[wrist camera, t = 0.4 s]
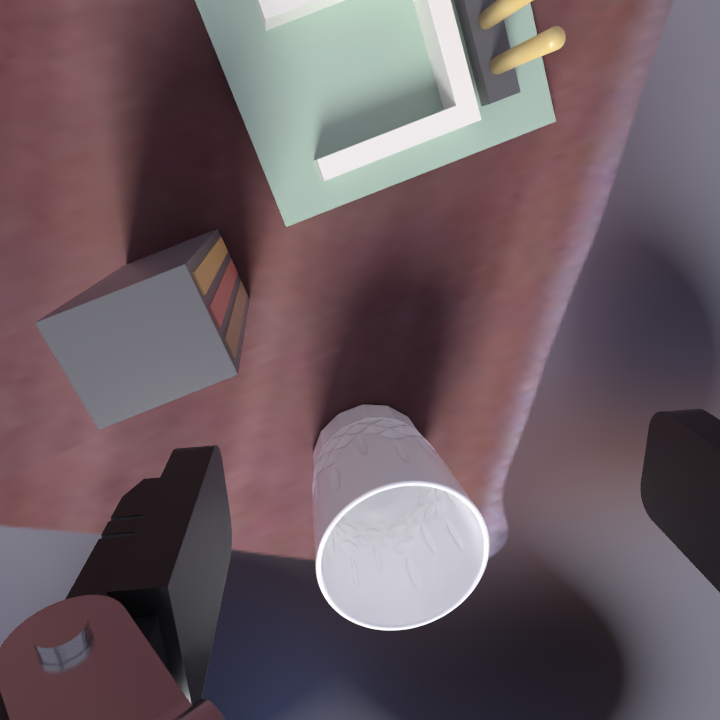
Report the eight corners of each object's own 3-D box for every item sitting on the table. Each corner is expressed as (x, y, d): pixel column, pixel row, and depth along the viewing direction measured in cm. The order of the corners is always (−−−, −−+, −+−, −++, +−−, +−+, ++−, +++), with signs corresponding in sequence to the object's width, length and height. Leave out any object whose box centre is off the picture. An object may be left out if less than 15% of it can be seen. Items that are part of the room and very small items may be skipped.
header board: (285, 225, 29) (291, 243, 22) (192, -6, 26) (162, -75, 18) (550, 122, 30) (638, 106, 23) (497, -122, 26) (583, -233, 19)
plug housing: (162, 333, 30) (98, 429, 19) (126, 264, 29) (34, 323, 18) (250, 299, 30) (239, 373, 19) (218, 228, 29) (186, 263, 18)
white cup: (439, 396, 34) (504, 483, 25) (421, 510, 36) (473, 628, 27) (308, 390, 32) (324, 479, 23) (298, 509, 35) (308, 633, 25)
